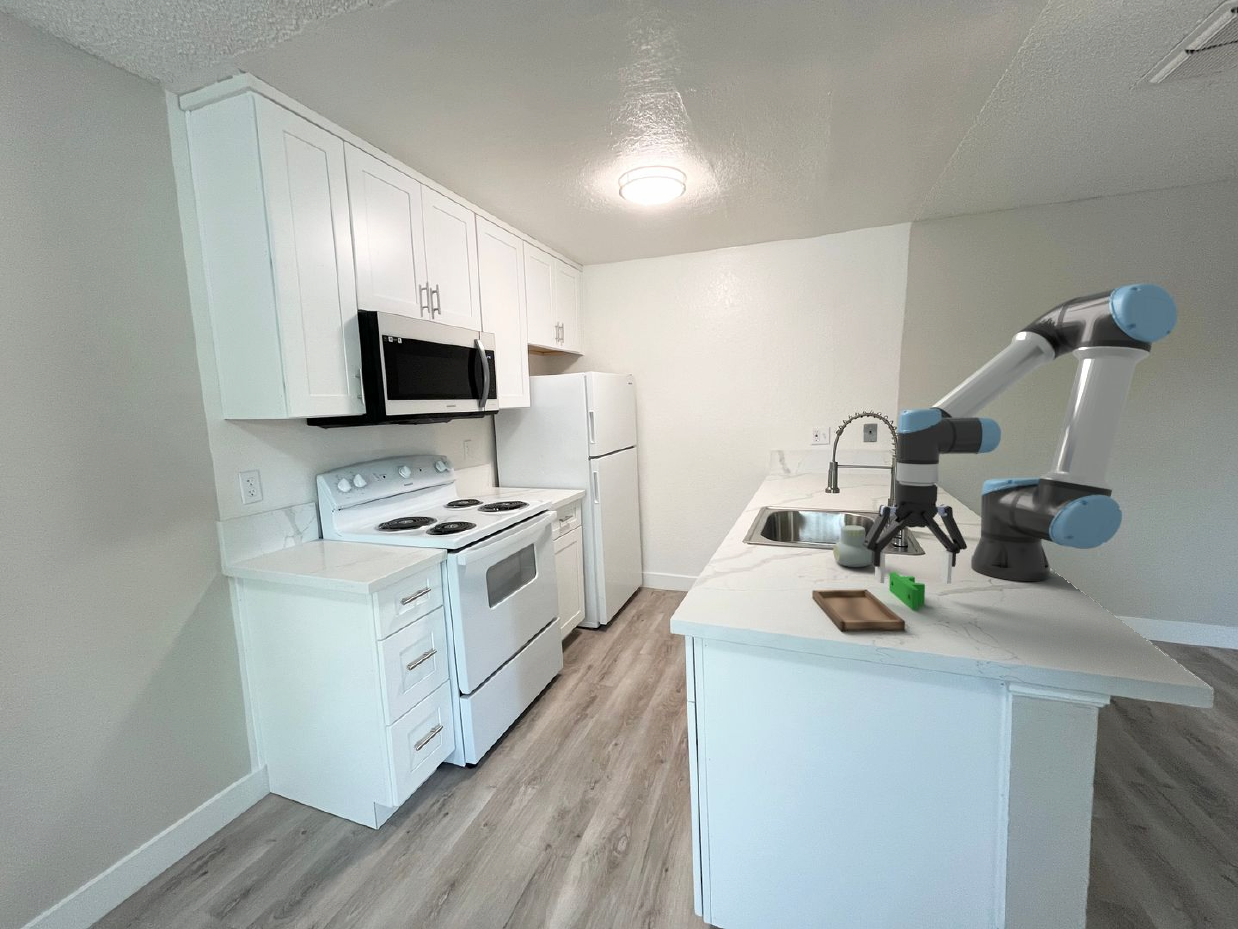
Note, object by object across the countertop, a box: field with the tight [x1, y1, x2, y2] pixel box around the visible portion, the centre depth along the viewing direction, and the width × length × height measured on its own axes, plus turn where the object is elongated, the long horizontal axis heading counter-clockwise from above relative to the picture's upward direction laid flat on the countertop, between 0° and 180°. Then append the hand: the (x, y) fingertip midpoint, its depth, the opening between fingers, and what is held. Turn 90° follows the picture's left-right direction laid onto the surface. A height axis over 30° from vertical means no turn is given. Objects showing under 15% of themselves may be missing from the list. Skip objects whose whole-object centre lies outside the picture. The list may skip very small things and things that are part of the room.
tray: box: [811, 589, 906, 632], centre depth 101 cm, size 12×17×2 cm
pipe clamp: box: [888, 571, 926, 611], centre depth 106 cm, size 11×4×5 cm, turn 173°
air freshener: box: [832, 524, 872, 568], centre depth 131 cm, size 11×8×10 cm
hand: (912, 581), depth 106 cm, fingers open, 13 cm apart
